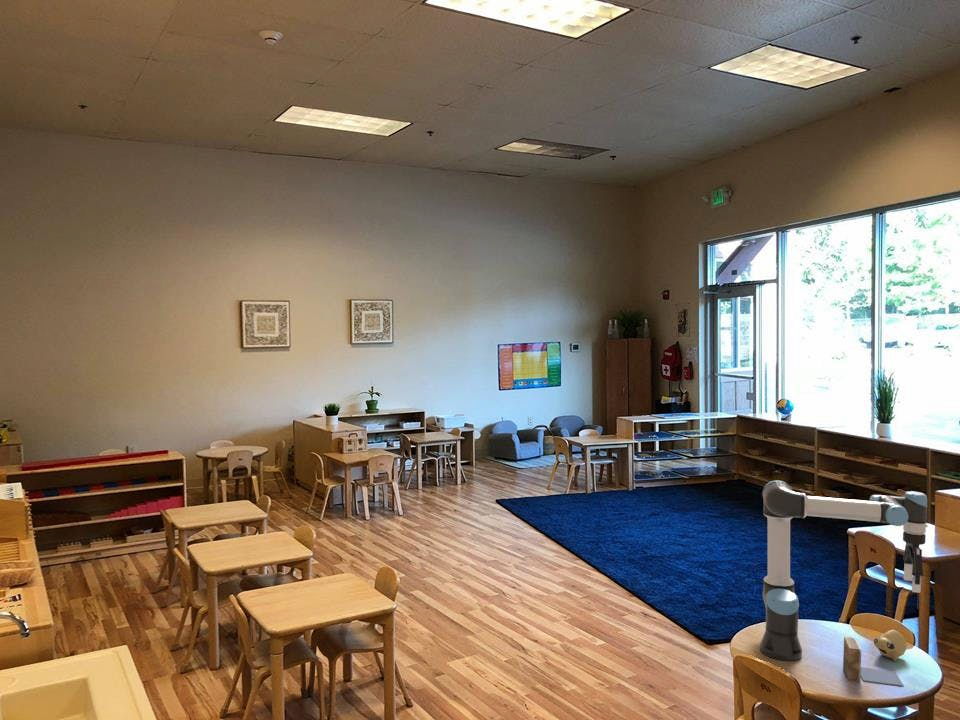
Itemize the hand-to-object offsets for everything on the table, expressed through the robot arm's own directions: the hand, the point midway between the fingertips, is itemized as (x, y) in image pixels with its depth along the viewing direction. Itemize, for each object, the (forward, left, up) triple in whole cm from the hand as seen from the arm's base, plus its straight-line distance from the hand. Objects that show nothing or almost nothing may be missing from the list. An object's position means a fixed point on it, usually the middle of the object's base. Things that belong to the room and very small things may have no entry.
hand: (911, 586), depth 283 cm
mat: (-15, -23, -28) cm, 39 cm away
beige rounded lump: (-8, -5, -28) cm, 29 cm away
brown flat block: (-25, -25, -28) cm, 45 cm away
